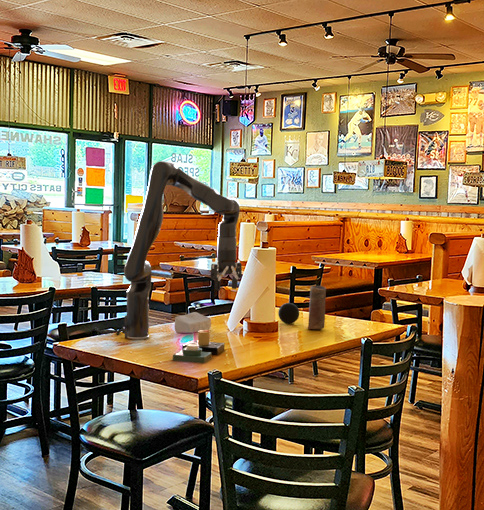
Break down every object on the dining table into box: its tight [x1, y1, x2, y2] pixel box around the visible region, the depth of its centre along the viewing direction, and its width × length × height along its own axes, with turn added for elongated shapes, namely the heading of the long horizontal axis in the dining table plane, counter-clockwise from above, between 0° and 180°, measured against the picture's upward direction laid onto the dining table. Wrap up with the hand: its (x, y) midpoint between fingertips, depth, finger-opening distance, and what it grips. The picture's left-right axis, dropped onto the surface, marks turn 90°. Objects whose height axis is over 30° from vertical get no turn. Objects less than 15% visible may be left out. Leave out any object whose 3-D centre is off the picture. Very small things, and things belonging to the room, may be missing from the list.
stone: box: [174, 311, 212, 334], centre depth 312 cm, size 11×17×10 cm, turn 137°
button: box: [187, 344, 198, 350], centre depth 256 cm, size 4×4×2 cm
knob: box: [197, 330, 211, 345], centre depth 269 cm, size 4×4×5 cm
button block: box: [172, 347, 213, 364], centre depth 256 cm, size 12×9×4 cm
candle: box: [307, 285, 327, 331], centre depth 320 cm, size 8×7×20 cm
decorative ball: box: [277, 302, 300, 325], centre depth 335 cm, size 10×10×10 cm
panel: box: [181, 340, 226, 357], centre depth 269 cm, size 14×10×3 cm
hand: (226, 289), depth 275 cm, fingers open, 8 cm apart
